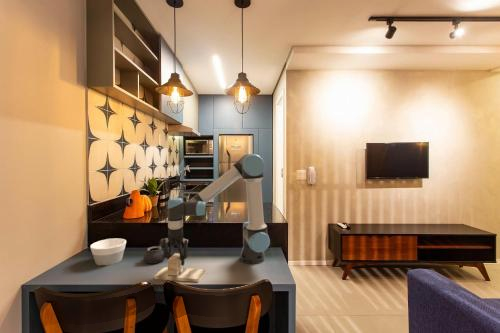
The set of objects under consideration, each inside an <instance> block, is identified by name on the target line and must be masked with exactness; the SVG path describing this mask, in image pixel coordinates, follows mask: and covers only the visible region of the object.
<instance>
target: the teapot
mask: <svg viewBox="0 0 500 333" xmlns="http://www.w3.org/2000/svg"><path fill="white" fill-rule="evenodd" d="M163 239H164V238H161V239H160V240H159V245H156V246H155V245H154V246H151V247H150V246H149V247H147V249H146V252H145V254H144V256H143V262H144V263H147V264H157V263H161V262H162V261H164V260H165V259H166V258H164V250H163V249H162V248H164V242H163ZM169 248H170V247H168V252H169Z"/></svg>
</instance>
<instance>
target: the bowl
mask: <svg viewBox="0 0 500 333" xmlns="http://www.w3.org/2000/svg"><path fill="white" fill-rule="evenodd" d="M126 245H127V240H126V239H124V238H115V237H114V238H106V239H101V240H98V241H96V242H93V243H92V244H90V250H91V254H92V256H93V259H94V262H95V265H97V266H101V265H105V266H111V265H114V264H118V263H120V262H121V261H122V260H123V257H124V252H125V248H126Z"/></svg>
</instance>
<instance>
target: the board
mask: <svg viewBox="0 0 500 333" xmlns="http://www.w3.org/2000/svg"><path fill="white" fill-rule="evenodd" d="M206 271H207V270H206V269H204V268H203V269H202V268H201V269H200V268H187V267H184V269H183V271H182V272H181V273H180V274H179V275H178V276H177V277H176V276H168V266H164V267H163V268H161V269H160V270H159V271H158V272H157V273H156V274H154V275H153V277H154V278H153V279H154V280H163V281H164V280H166V281H178V282H179V281H180V282H192V283H194V282H195V283H199V282H200V281H201V280H202V278H203V277H204V275H205V274H206Z"/></svg>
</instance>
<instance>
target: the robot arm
mask: <svg viewBox="0 0 500 333" xmlns="http://www.w3.org/2000/svg"><path fill="white" fill-rule="evenodd" d="M265 165H266V164H265V161H264V159H263V158H262V157H261V155H258V154H256V153H248V154H244V155H243V156H241V157H240V158H239V160H237V161H236V162H234V163H233V164H232V165H231V168H229V170H227V171H226V172H224V173H223V174H222V175H221V176H219V177H218V178H217V179H215V180H214V181H213V182H211V183H210V184H209V185H207V186H206V187H205V188H204V189H203V190H201V191H200V192H198V194H196V195H194V196H193V197H191V198H190V199H189V200H188V201H183V198H181V197H174V198H173V197H172V198H170V199H168V201H167V220H168V221H167V228H168V230H167V231H168V232H167V237H165V238H162V239H163V242H164V245H163V251H164V258H165V259H167V260H168V259H169V258H170V257H171V256H173V252H174V247H175V246H176V248H177V250H178V253H179V254H180V258H181V259H180V260H179V266H180V272H182V271H183V265H184V266H185V260H186V259H187V258H188V257H189V247H188V243H189V239H188V238H184V218H183V217H190V216H191V217H194V216H195V217H197V216H205V215H206V204H207V203H209V202H210V201H211V200H213V199H214V198H215V197H217V196H218V195H219V194H221V193H222V192H223V191H225V190H226V189H227V188H228V187H230V186H231V185H232V184H234V183H235V182H236V181H238V180H239V179H242V180H243V181H244V182H245V189H246V190H245V191H246V192H245V193H246V204H247V219H248V221H244V222H243V223H242V244H243V245H242V249H241V252H240V257H239V259H240V261H241V262H243V263H247V264H259V263H262V262H264V261H265V259H266V257H265V256H266V255H265V251H266V250H267V249H268V248H269V247H270V244H271V240H270V236H269V234H268V225H267V224H266V223H265V218H264V207H263V206H264V204H263V193H262V192H263V190H262V189H263V188H262V180H263V179H264V170H265ZM168 248H169V251H168Z"/></svg>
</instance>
